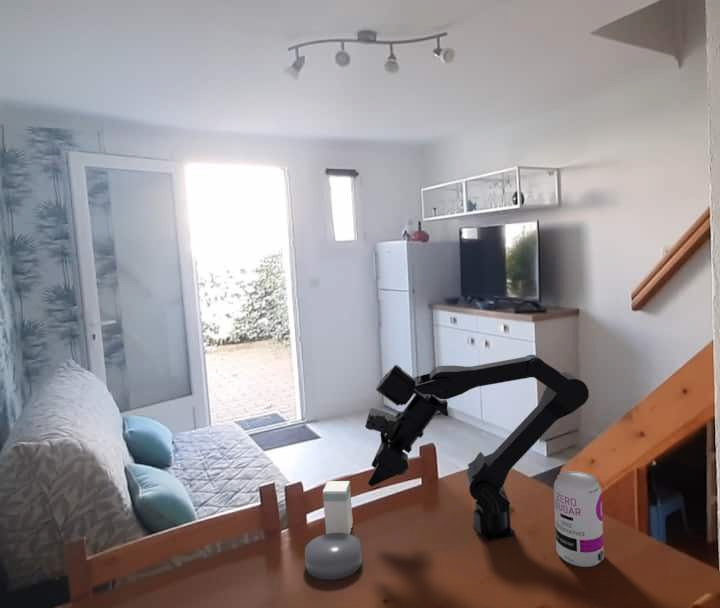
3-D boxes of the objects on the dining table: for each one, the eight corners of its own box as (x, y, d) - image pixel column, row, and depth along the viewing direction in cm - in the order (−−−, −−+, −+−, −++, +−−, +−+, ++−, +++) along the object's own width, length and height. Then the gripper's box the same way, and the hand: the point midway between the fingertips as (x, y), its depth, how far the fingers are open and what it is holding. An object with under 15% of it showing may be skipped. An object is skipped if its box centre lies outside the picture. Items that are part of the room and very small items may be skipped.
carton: (352, 524, 114) (349, 481, 113) (349, 536, 109) (345, 491, 108) (330, 524, 115) (327, 481, 114) (326, 536, 110) (322, 491, 109)
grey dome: (353, 542, 107) (352, 528, 106) (369, 571, 96) (367, 556, 96) (301, 553, 104) (300, 539, 103) (311, 585, 93) (310, 570, 93)
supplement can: (603, 547, 98) (600, 472, 97) (604, 572, 91) (601, 491, 90) (558, 540, 102) (555, 468, 100) (555, 564, 94) (551, 486, 93)
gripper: (385, 384, 116) (346, 437, 118) (381, 408, 97) (334, 470, 100) (425, 413, 116) (385, 466, 118) (428, 443, 97) (380, 505, 99)
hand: (371, 475), depth 109 cm, fingers open, 9 cm apart
